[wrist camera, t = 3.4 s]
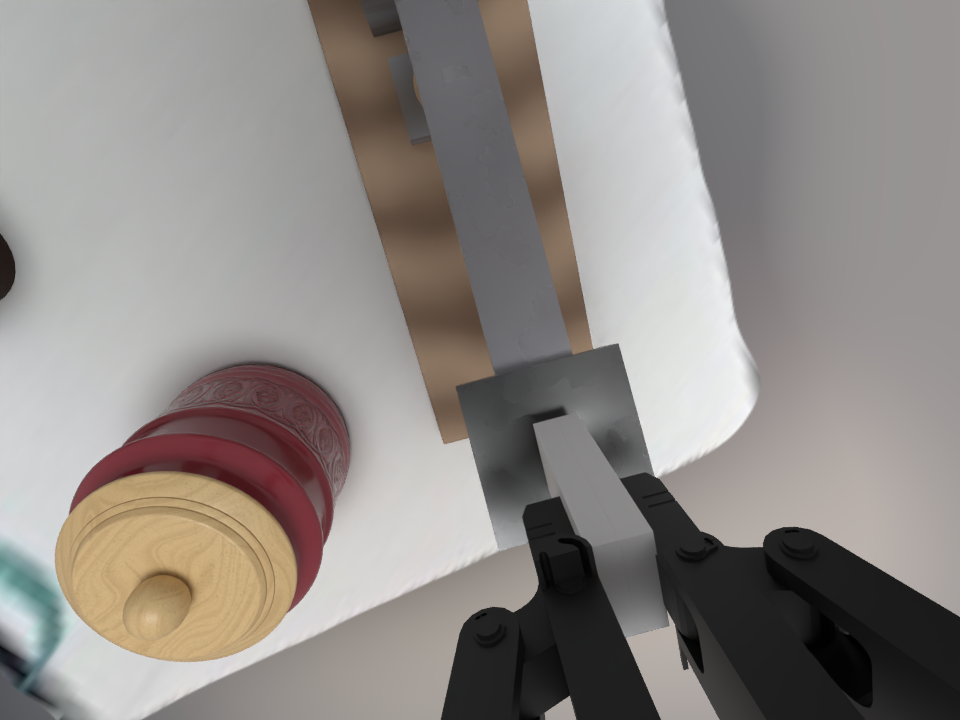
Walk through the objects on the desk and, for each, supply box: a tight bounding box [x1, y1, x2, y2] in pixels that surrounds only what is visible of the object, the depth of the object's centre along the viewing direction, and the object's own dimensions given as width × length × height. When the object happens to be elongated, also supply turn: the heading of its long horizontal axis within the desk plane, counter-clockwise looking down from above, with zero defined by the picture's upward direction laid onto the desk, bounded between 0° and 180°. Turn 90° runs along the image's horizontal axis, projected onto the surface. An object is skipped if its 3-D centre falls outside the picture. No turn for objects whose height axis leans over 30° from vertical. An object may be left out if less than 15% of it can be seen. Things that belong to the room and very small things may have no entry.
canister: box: [55, 364, 350, 662], centre depth 31 cm, size 13×13×18 cm
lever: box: [394, 0, 655, 551], centre depth 20 cm, size 26×6×3 cm, turn 14°
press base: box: [308, 0, 593, 444], centre depth 29 cm, size 32×12×14 cm, turn 14°
